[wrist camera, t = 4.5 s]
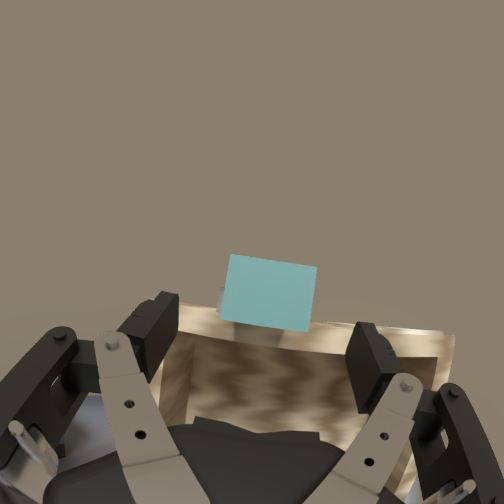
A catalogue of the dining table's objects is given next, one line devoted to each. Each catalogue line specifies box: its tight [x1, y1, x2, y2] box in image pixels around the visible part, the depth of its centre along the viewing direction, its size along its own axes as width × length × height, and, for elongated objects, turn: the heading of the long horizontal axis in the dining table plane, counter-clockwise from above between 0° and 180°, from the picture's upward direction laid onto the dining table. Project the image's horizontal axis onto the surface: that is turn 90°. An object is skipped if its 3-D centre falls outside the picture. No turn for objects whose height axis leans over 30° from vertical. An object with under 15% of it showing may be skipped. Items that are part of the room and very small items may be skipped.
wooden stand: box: [148, 287, 455, 502], centre depth 25 cm, size 28×14×34 cm, turn 90°
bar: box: [220, 254, 317, 332], centre depth 23 cm, size 4×22×3 cm, turn 0°
